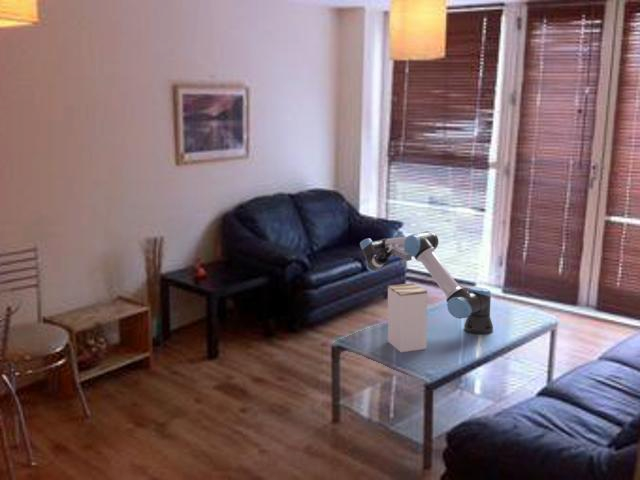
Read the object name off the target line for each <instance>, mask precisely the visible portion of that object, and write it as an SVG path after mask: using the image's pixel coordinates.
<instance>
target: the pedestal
mask: <svg viewBox="0 0 640 480" xmlns="http://www.w3.org/2000/svg"><path fill="white" fill-rule="evenodd" d="M427 310H428V291H427V290H426V289H425V288H423V287H421V286H419V285H417V283H416V284H415V283H413V282H412V283H411V282H410V283H409V282H408V283H401V284H392V285H387V343H389V344H390V345H391V346H393V348H394V349H396V350H397V351H398V352H400V353H406V352H412V351H418V350H419V351H420V350H426V349H427V343H428V342H427V329H428V325H427V324H428V323H427V322H428V320H427V319H428V317H427V315H428V311H427Z"/></svg>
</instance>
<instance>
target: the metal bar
mask: <svg viewBox="0 0 640 480" xmlns="http://www.w3.org/2000/svg"><path fill="white" fill-rule="evenodd" d="M388 246H389V245H388ZM388 246H386V247H388ZM392 248H393V249H392V250H390V251H389V252H390V253H392V254H394V255H395V257H398V258H400V259H402V260H403V261H406V262H407V261H408V262H409V261H412V260H413V259H412V255H411V254H409V253H407V252H405V250H400V249H398V248H396V247H394V246H392Z"/></svg>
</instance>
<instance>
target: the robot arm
mask: <svg viewBox="0 0 640 480" xmlns="http://www.w3.org/2000/svg"><path fill="white" fill-rule="evenodd" d="M439 241H440V240H439V237H438V235H437V234H436V233H434V231H421V232H418V233H412V234H410V235H408V236H402V237H393V238H382V239H378V240H374V241H373V240H372V239H371V238H370V237H369V238H364V239H363V240H361V241H360V243H359V246H360V248H361V251H362V253H363V256H364V257H365V260H366V269H367V270H368V271H369V272H371V273H376V272H377V271H379V270H380V269H381V268H382V267H383V266H384V265H385V264H387V263H388V262H389V258H391V257H394V258H395V257H396V255H394V254H392V253H390V252H389V251H390V250H392V249H393V248H392V246H394V247H396V248H398V249H400V250H403V251H405V252H407V253H409V254H411V255H412V257H413V258H415V261H416V262H420V263H422V265H423V267H424V268H425V269H426V271H427V272H428V273H429V274H430V276H431V277H432V278H433V280H434V281H435V282H436V284H437V285H438V286H439V288H440V289H441V291H442V292H443V293H444V294H445V296H446V298H445V301H446V302H447V304H446V305H447V306H446V307H447V311H448V313H449V315H451V316H452V317H453V318H455V319H460V320H461V319H465V318H466V319H465V321H464V327H463V328H464V329H463V330H464V331H466V332H468V333H471V334H477V335H487V334H491V333H493V331H494V326H493V322H492V318H491V301H492V300H491V299H492V298H491V297H492V296H491V290H489V289H488V288H484V287H479V286H478V287H476V286H474V287H473V286H471V287H470V286H469V288H468V290H466V288H465V287H461V286H459V283H457V281H456V280H455V278H454V277H453V276H452V274H451V273H450V272H449V271H448V269H447V268H446V267H445V265H444V264H443V262H442V261H441V260H440V258H439V257H438V256H437V255H436V253H435V250H436V249H437V248H438V246H439ZM388 245H389V246H388ZM386 246H388V247H386Z"/></svg>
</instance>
